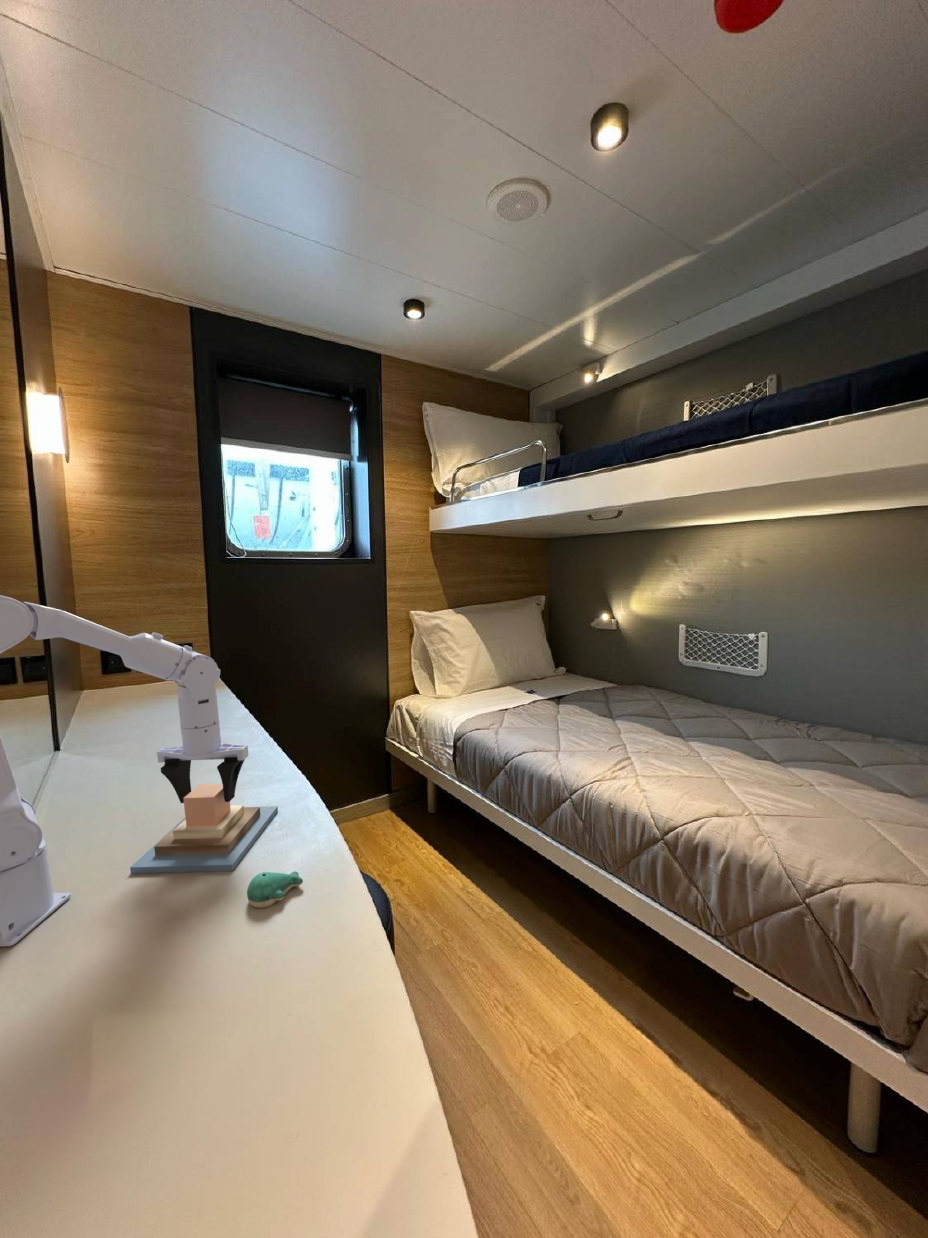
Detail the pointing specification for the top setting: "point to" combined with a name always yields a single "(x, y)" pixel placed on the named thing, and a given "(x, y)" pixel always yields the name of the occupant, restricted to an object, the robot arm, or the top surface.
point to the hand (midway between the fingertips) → (207, 799)
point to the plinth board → (205, 859)
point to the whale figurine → (271, 887)
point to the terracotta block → (205, 805)
